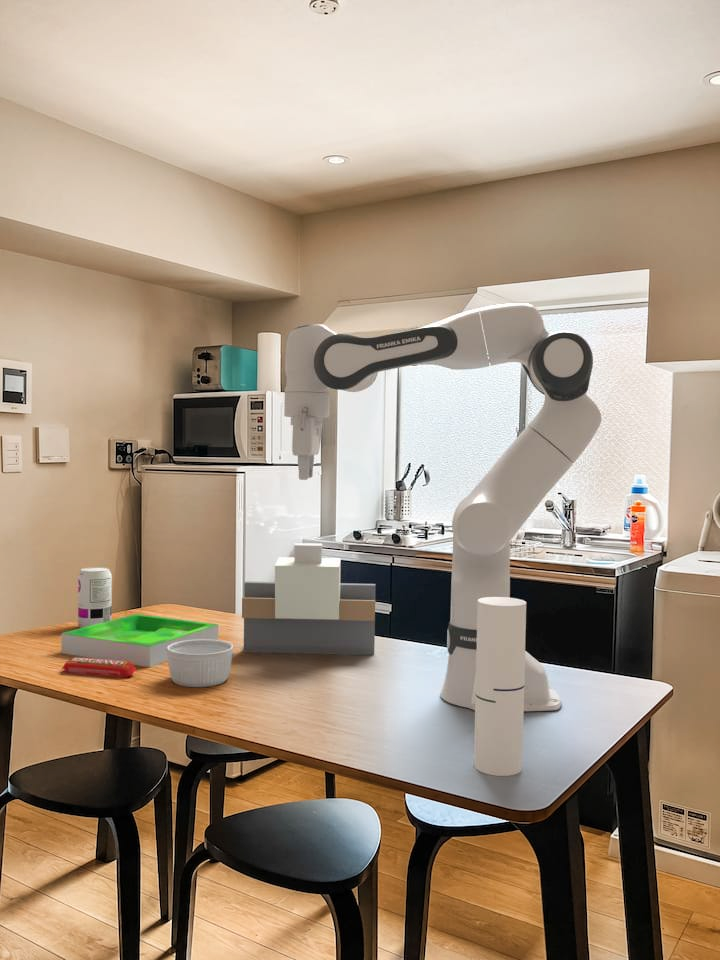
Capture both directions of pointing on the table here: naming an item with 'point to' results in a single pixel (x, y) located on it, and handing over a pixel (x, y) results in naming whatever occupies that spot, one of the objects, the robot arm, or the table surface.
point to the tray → (134, 638)
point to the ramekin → (200, 662)
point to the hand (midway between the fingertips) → (305, 478)
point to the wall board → (309, 623)
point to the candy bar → (99, 667)
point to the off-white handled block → (307, 584)
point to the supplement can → (94, 596)
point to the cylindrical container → (499, 685)
